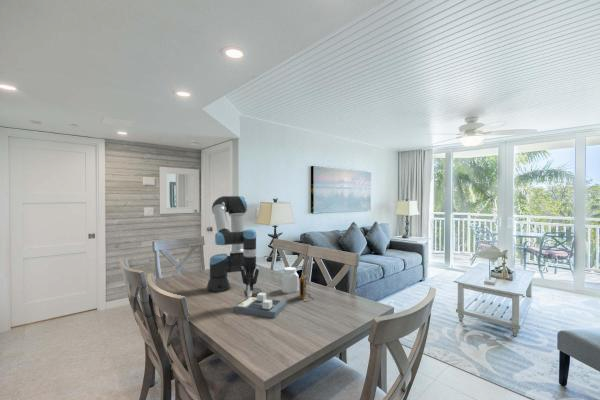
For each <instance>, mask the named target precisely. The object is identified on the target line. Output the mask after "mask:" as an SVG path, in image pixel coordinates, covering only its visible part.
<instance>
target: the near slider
mask: <svg viewBox="0 0 600 400" xmlns="http://www.w3.org/2000/svg"><path fill="white" fill-rule="evenodd" d="M267 299H268V298H266V300H264V301H263V302H262V308H263V309H270V308H271V307H272V300H273V299H271V300H267Z"/></svg>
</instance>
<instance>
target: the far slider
mask: <svg viewBox="0 0 600 400" xmlns="http://www.w3.org/2000/svg"><path fill="white" fill-rule="evenodd" d="M256 298H257V301H264V300H266V299H267V293H266V292H258V294H257V295H256Z"/></svg>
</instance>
